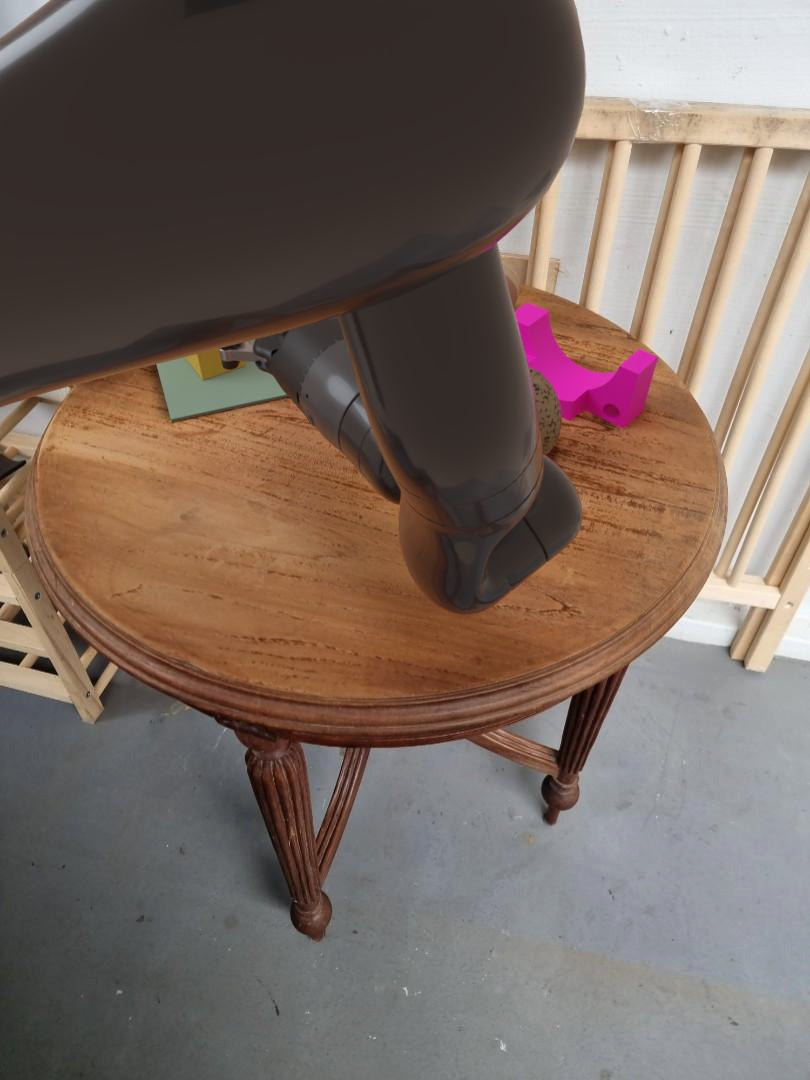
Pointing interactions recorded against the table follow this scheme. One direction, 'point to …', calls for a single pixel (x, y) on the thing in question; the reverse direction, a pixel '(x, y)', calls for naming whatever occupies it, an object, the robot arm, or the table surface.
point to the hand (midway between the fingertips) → (247, 280)
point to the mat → (214, 389)
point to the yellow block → (209, 364)
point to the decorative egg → (547, 411)
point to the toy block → (585, 374)
